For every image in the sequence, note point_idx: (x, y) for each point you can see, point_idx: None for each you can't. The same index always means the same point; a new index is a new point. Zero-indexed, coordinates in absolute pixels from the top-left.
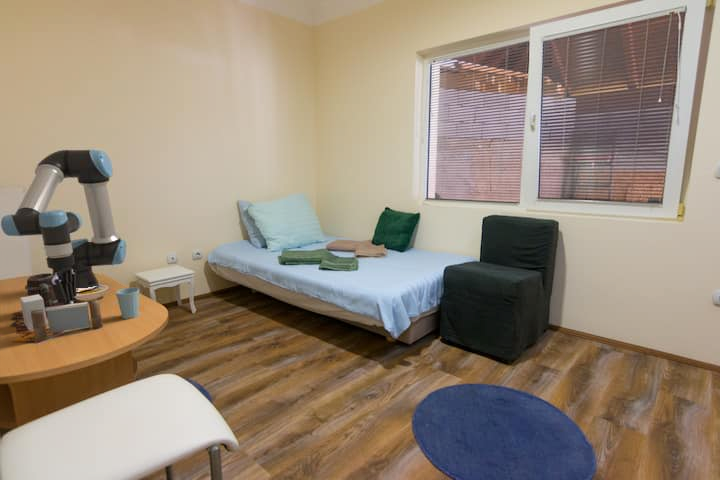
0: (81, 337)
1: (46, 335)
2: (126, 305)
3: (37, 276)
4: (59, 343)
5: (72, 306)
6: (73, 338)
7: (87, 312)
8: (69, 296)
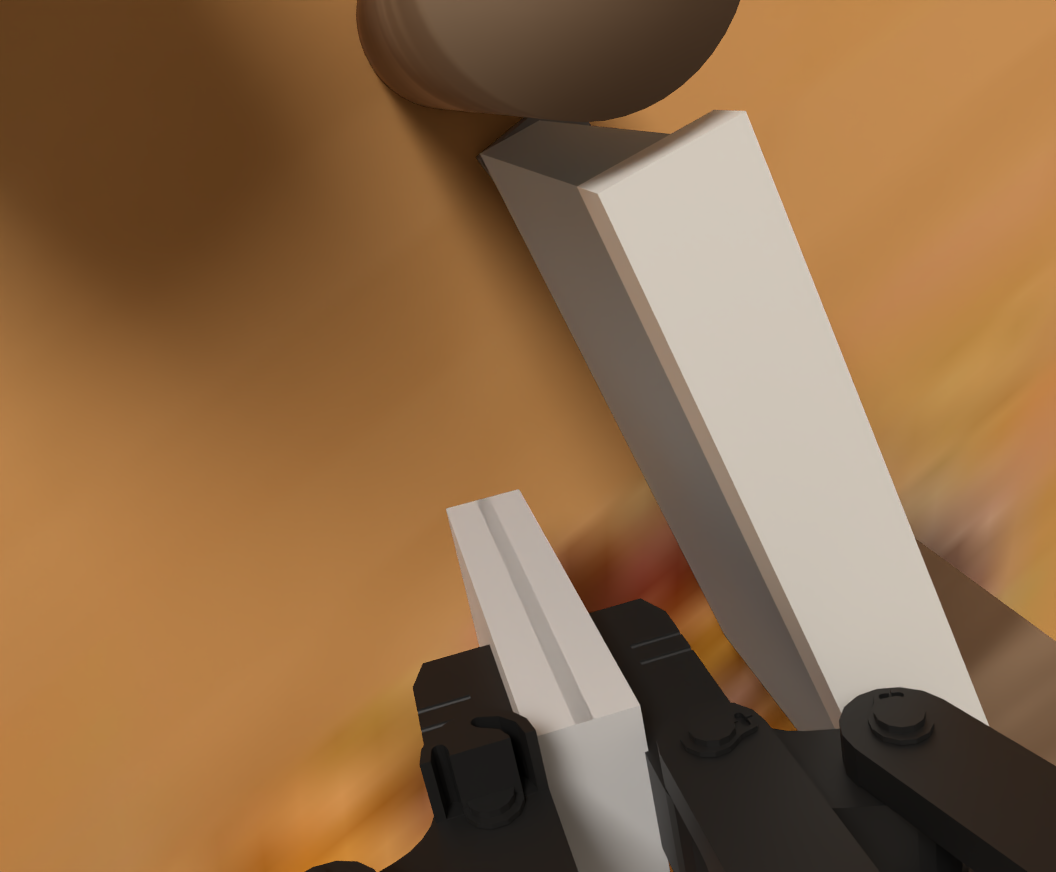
0: (859, 28)
1: (924, 546)
2: None
3: None
4: (1036, 234)
5: (867, 459)
6: (885, 145)
7: (629, 133)
8: (736, 845)
